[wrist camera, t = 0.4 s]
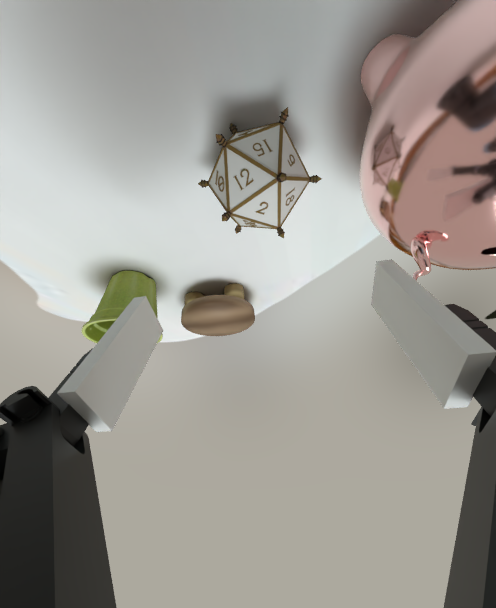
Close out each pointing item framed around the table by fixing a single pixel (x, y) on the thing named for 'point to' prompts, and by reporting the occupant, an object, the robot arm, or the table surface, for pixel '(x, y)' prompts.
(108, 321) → the plant pot
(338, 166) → the table surface
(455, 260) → the piggy bank
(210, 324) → the stand
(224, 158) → the game die
